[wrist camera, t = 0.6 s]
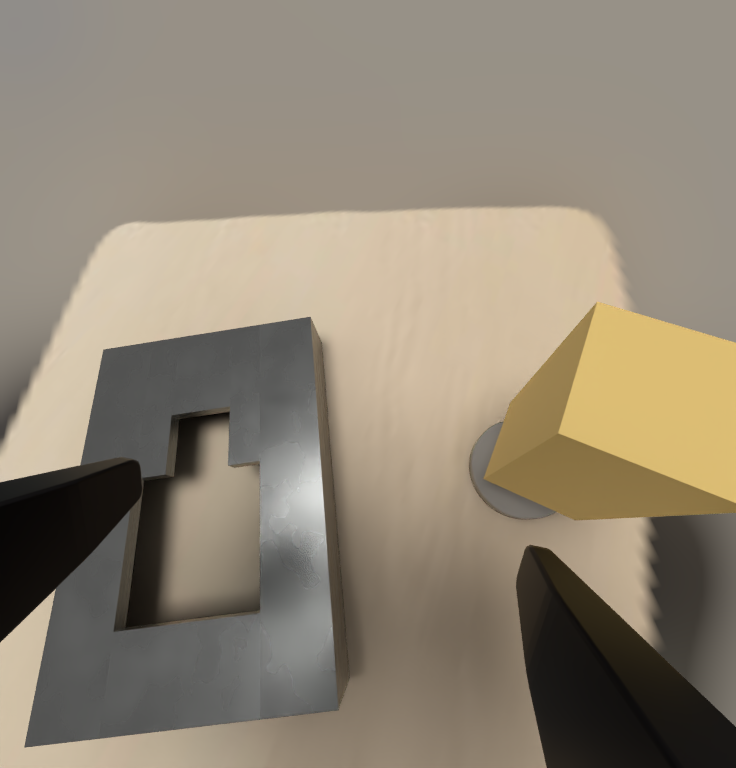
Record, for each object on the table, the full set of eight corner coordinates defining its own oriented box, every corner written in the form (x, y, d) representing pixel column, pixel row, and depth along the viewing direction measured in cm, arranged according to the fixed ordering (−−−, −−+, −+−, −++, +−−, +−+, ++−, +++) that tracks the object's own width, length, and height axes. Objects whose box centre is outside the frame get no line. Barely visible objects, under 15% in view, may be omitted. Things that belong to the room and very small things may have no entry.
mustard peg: (551, 537, 20) (787, 550, 8) (456, 492, 21) (528, 444, 9) (575, 447, 21) (799, 343, 9) (486, 411, 23) (581, 280, 11)
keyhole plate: (349, 678, 18) (338, 710, 15) (88, 710, 18) (24, 747, 15) (321, 342, 26) (310, 316, 23) (139, 371, 26) (103, 349, 23)
